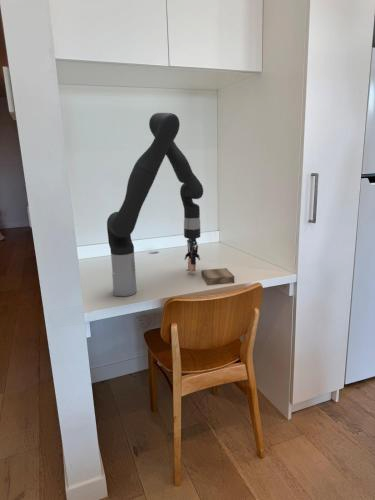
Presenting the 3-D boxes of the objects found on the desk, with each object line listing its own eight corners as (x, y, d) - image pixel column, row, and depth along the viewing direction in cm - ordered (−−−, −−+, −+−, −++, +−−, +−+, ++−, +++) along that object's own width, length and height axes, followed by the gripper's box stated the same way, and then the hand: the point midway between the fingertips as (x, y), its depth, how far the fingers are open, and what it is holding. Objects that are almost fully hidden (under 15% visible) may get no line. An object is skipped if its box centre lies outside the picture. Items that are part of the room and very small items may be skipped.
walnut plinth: (207, 285, 149) (207, 278, 148) (201, 276, 160) (201, 270, 159) (234, 282, 151) (234, 276, 150) (226, 274, 162) (226, 268, 161)
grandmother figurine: (184, 271, 161) (183, 245, 158) (184, 269, 165) (184, 243, 162) (200, 272, 161) (200, 245, 157) (200, 269, 164) (200, 243, 161)
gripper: (181, 224, 164) (182, 259, 168) (186, 230, 150) (187, 268, 155) (196, 224, 165) (197, 258, 169) (203, 229, 152) (203, 267, 156)
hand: (192, 263), depth 162 cm, fingers closed on grandmother figurine, 3 cm apart
